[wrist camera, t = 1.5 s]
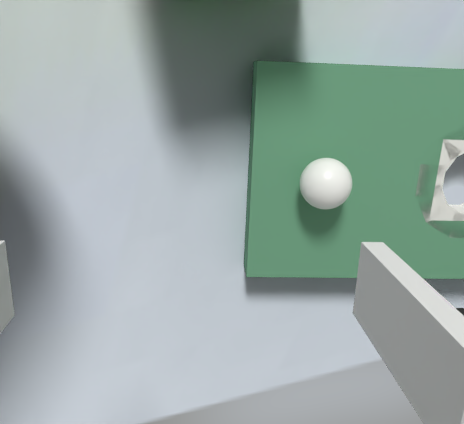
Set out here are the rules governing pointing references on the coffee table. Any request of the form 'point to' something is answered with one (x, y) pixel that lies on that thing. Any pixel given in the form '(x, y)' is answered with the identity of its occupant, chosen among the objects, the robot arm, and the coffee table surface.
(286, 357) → the coffee table surface
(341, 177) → the ball
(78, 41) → the coffee table surface
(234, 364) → the coffee table surface
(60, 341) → the coffee table surface
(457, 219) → the mat
